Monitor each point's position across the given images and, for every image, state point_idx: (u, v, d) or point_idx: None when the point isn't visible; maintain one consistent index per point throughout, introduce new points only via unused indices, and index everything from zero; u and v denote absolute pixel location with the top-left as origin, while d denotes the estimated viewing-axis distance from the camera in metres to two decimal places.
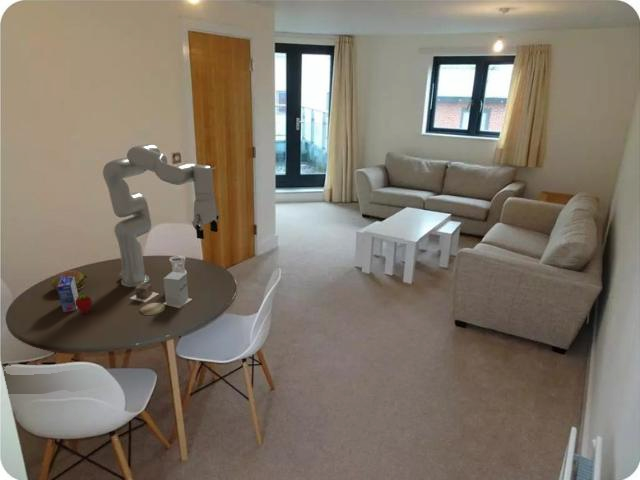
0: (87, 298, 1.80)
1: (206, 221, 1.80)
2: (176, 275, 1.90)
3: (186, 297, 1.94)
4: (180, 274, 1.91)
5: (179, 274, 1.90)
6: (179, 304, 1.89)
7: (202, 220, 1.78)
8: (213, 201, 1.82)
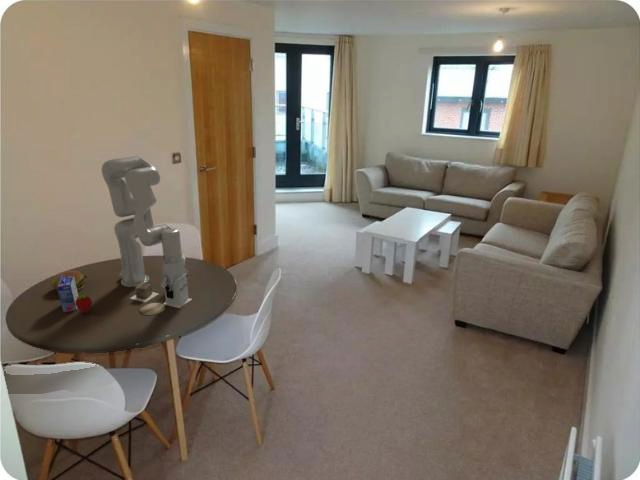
0: (87, 298, 1.80)
1: None
2: None
3: (186, 297, 1.94)
4: None
5: None
6: (179, 304, 1.89)
7: (170, 281, 1.84)
8: (182, 261, 1.89)
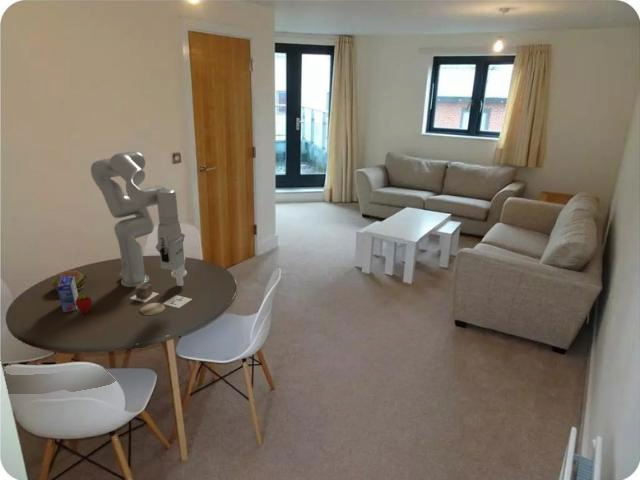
0: (87, 298, 1.80)
1: None
2: None
3: (182, 262, 1.88)
4: None
5: None
6: (174, 268, 1.84)
7: (166, 244, 1.79)
8: (178, 224, 1.83)
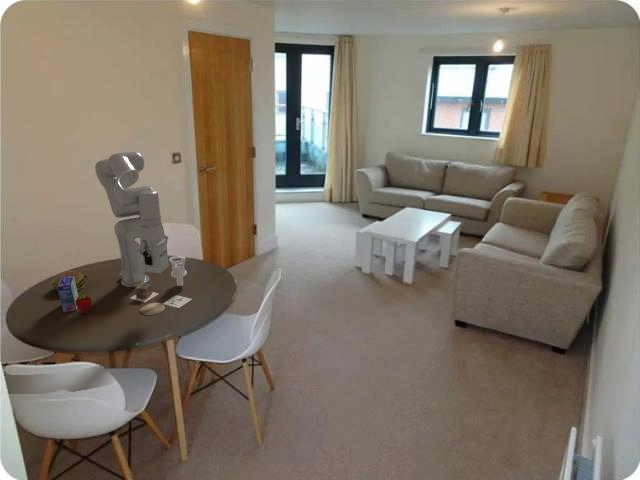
0: (87, 298, 1.80)
1: None
2: None
3: (166, 265, 1.84)
4: None
5: None
6: (158, 271, 1.79)
7: (149, 246, 1.74)
8: (161, 226, 1.78)
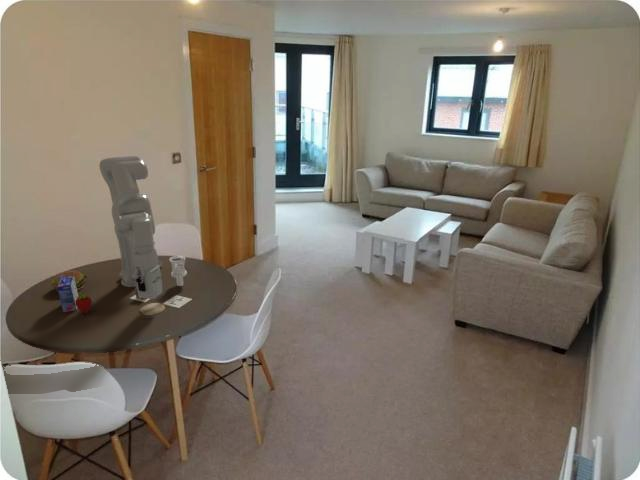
0: (87, 298, 1.80)
1: None
2: None
3: (160, 290, 1.84)
4: None
5: None
6: (152, 297, 1.80)
7: (142, 273, 1.75)
8: (154, 252, 1.79)
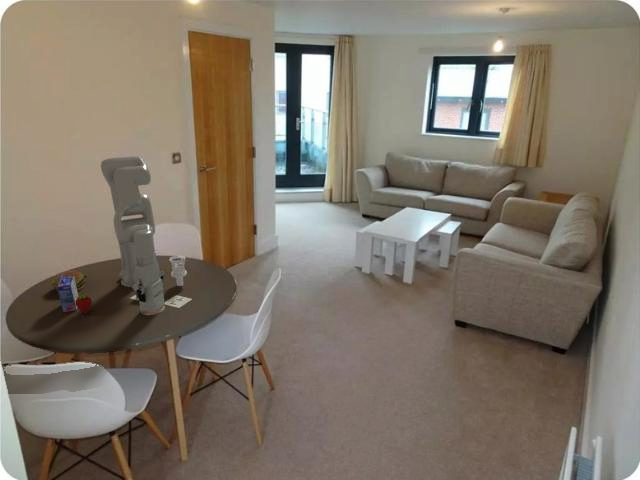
0: (87, 298, 1.80)
1: None
2: None
3: (162, 304, 1.87)
4: None
5: None
6: (153, 311, 1.83)
7: (143, 284, 1.77)
8: (156, 264, 1.81)
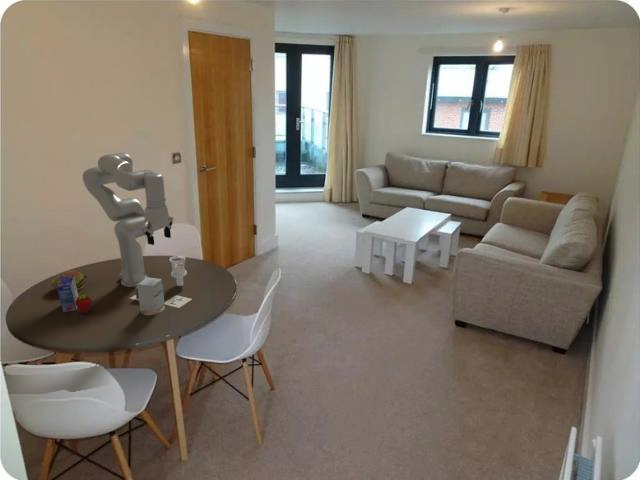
0: (87, 298, 1.80)
1: (157, 228, 1.84)
2: (151, 281, 1.83)
3: (162, 304, 1.87)
4: (155, 280, 1.84)
5: (154, 280, 1.84)
6: (153, 311, 1.83)
7: (152, 227, 1.82)
8: (165, 208, 1.86)
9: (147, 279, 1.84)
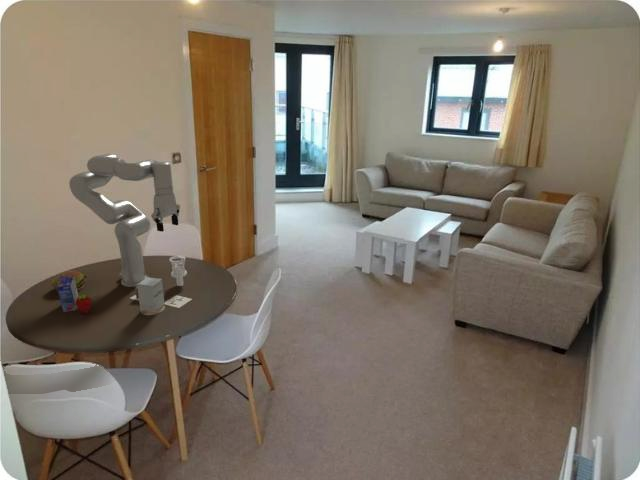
0: (87, 298, 1.80)
1: (165, 215, 1.90)
2: (151, 281, 1.83)
3: (162, 304, 1.87)
4: (155, 280, 1.84)
5: (154, 280, 1.84)
6: (153, 311, 1.83)
7: (161, 213, 1.88)
8: (173, 196, 1.92)
9: (147, 279, 1.84)
